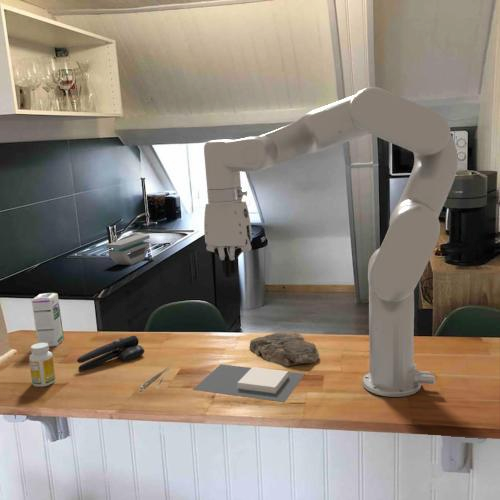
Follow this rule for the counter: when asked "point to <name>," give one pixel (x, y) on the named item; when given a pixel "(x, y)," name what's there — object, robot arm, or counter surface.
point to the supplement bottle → (41, 365)
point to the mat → (229, 376)
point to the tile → (263, 380)
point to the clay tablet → (285, 349)
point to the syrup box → (48, 319)
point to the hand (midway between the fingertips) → (230, 275)
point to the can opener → (112, 352)
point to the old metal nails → (152, 380)
